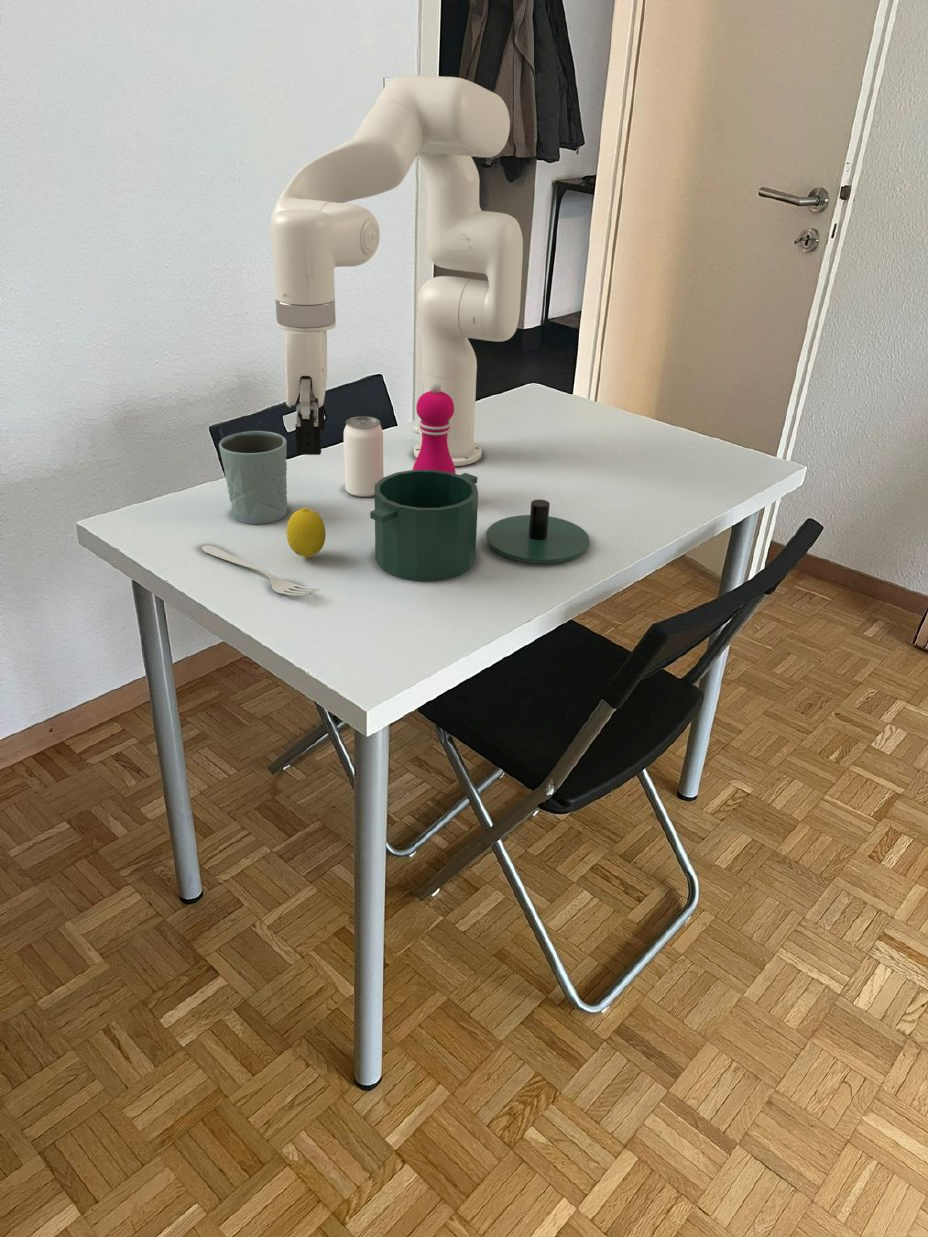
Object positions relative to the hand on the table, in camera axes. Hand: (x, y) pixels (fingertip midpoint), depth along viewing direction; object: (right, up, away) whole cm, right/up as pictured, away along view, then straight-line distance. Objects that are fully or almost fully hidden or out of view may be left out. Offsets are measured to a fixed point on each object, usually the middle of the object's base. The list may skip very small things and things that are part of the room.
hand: (311, 441), depth 134 cm
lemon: (-2, -16, +9) cm, 18 cm away
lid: (+32, -12, +16) cm, 38 cm away
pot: (+15, -15, +10) cm, 24 cm away
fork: (-9, -18, +4) cm, 21 cm away
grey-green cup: (-12, -8, +22) cm, 26 cm away
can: (+4, -3, +31) cm, 32 cm away
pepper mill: (+16, -5, +29) cm, 33 cm away
